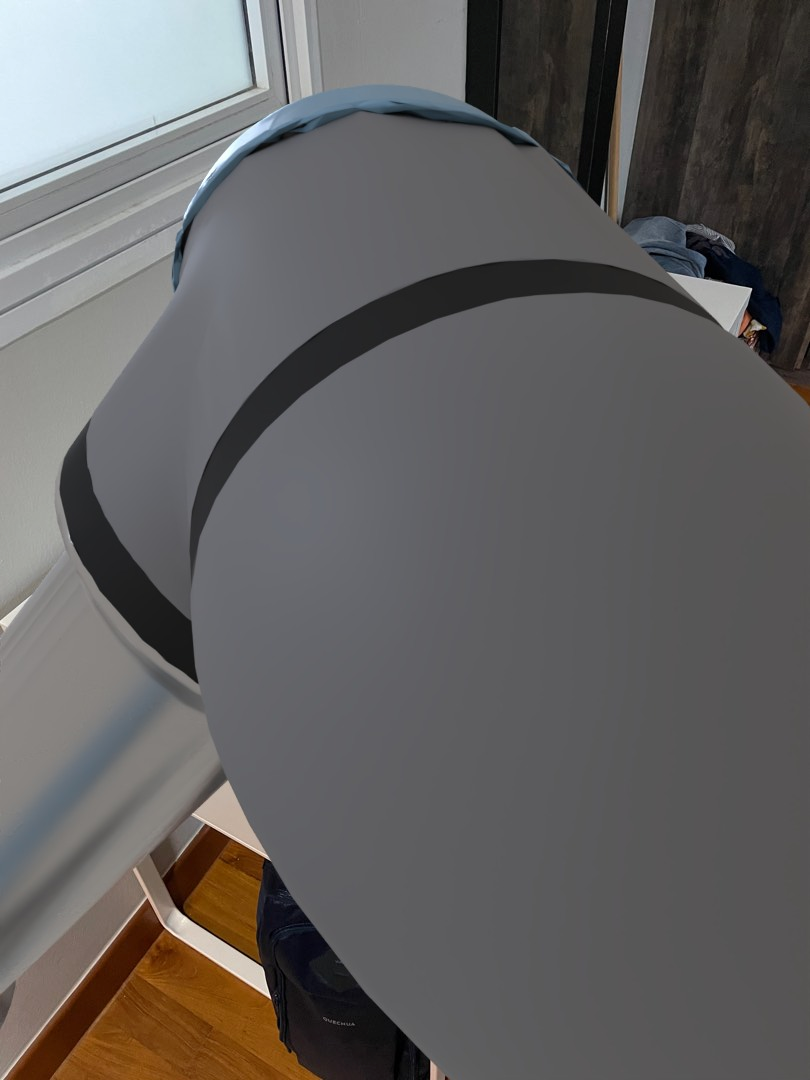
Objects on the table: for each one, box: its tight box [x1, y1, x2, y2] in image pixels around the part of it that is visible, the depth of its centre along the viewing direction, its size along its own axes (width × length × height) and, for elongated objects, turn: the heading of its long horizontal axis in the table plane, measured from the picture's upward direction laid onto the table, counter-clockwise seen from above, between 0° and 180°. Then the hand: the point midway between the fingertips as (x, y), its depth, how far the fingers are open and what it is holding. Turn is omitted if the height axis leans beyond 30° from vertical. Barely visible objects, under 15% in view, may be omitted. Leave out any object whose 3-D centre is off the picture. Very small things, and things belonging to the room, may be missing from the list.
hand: (416, 650), depth 69 cm, fingers open, 13 cm apart
